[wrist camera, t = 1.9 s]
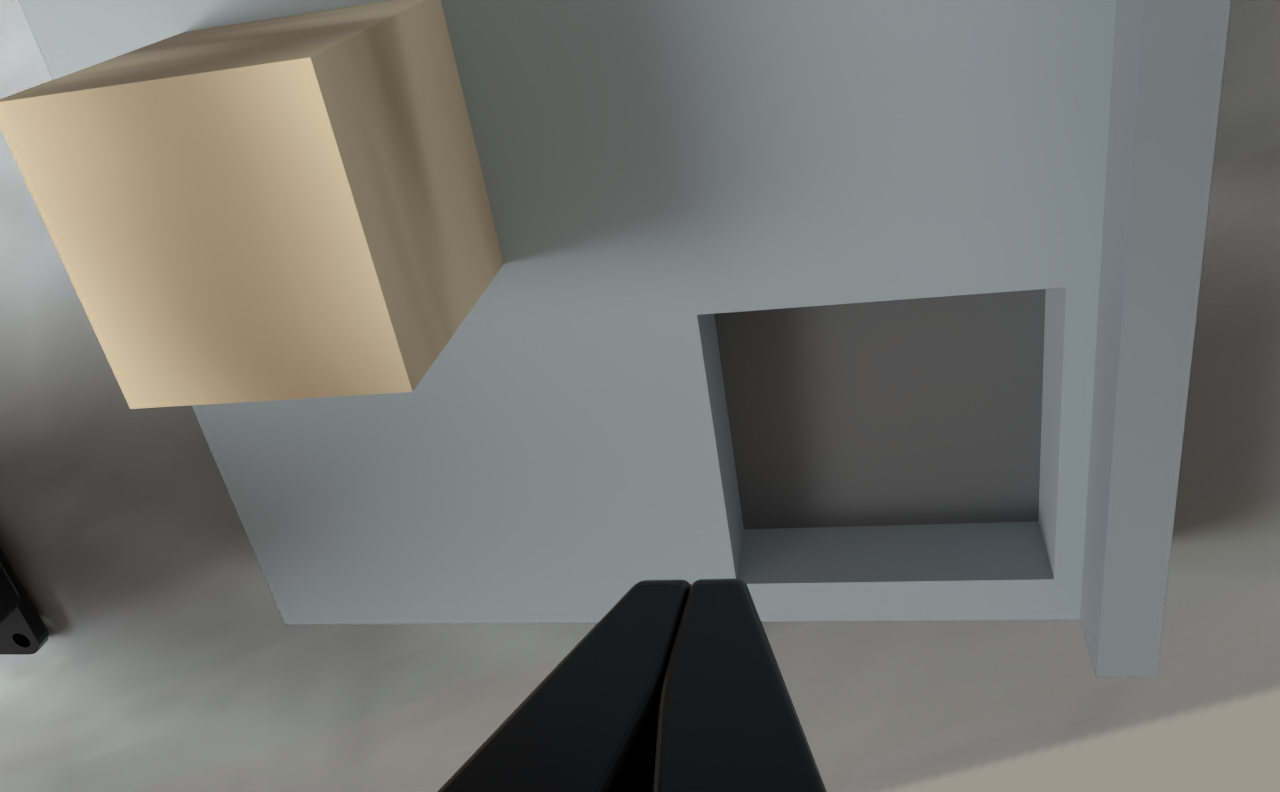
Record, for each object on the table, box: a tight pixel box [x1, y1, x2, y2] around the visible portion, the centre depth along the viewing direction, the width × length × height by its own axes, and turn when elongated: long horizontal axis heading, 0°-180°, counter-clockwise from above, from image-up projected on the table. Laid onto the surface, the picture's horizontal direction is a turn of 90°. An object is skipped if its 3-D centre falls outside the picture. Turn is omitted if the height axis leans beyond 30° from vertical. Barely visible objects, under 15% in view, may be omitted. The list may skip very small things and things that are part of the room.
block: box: [0, 0, 504, 409], centre depth 15 cm, size 4×4×4 cm
